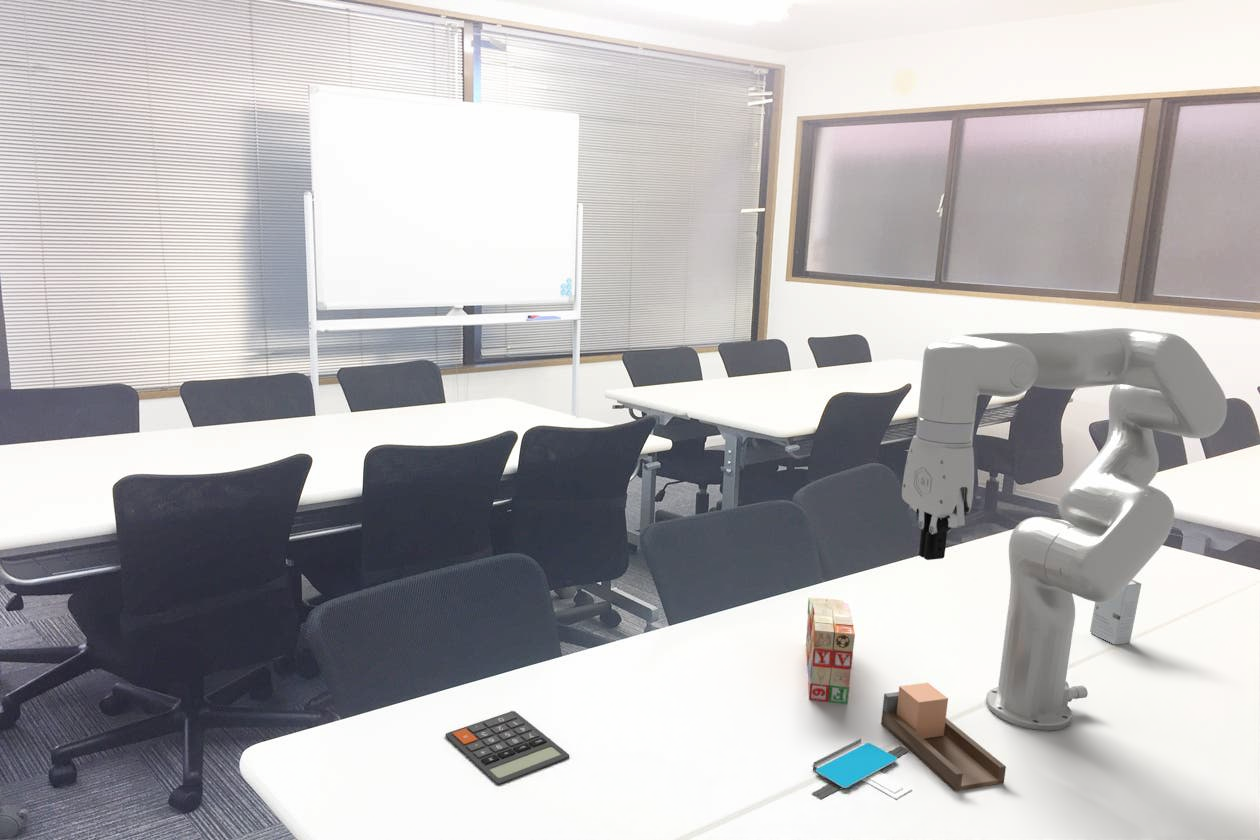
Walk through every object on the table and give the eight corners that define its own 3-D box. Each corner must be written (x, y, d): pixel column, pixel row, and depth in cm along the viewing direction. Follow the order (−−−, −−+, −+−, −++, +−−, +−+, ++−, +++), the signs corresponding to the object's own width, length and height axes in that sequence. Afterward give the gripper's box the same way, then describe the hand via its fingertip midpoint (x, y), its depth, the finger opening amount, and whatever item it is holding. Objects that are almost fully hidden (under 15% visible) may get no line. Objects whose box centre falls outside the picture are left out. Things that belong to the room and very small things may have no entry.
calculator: (513, 709, 141) (570, 754, 130) (513, 714, 141) (570, 760, 130) (444, 732, 134) (498, 782, 123) (444, 738, 134) (497, 788, 123)
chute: (926, 717, 145) (929, 688, 144) (1003, 782, 128) (1008, 749, 127) (881, 723, 142) (884, 693, 141) (954, 791, 125) (958, 757, 125)
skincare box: (1088, 633, 179) (1097, 573, 177) (1105, 630, 181) (1114, 571, 179) (1115, 646, 174) (1125, 585, 171) (1132, 643, 176) (1142, 582, 173)
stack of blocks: (804, 644, 170) (810, 580, 167) (839, 648, 169) (845, 583, 166) (808, 700, 149) (814, 629, 146) (848, 705, 148) (855, 633, 146)
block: (923, 718, 143) (927, 682, 142) (943, 735, 138) (948, 698, 137) (895, 722, 141) (899, 686, 140) (914, 739, 137) (918, 702, 135)
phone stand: (857, 826, 118) (858, 814, 118) (785, 782, 127) (786, 771, 127) (945, 773, 131) (946, 763, 130) (874, 737, 140) (875, 726, 139)
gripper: (889, 421, 134) (878, 542, 138) (957, 444, 121) (943, 578, 124) (932, 420, 137) (920, 538, 141) (1004, 442, 123) (989, 573, 127)
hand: (931, 557), depth 132 cm, fingers closed
